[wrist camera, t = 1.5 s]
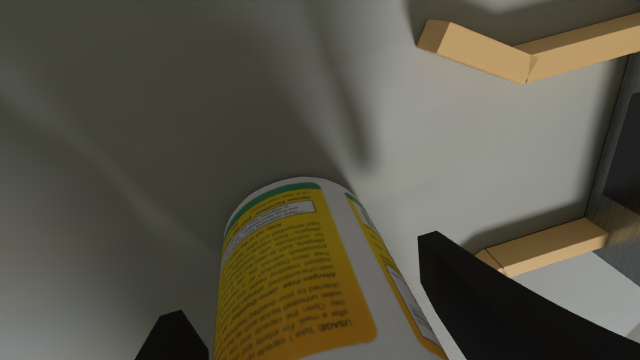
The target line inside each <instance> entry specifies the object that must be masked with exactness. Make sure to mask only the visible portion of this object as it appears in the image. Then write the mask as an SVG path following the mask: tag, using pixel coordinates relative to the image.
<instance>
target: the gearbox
mask: <svg viewBox="0 0 640 360" xmlns="http://www.w3.org/2000/svg"><path fill="white" fill-rule="evenodd" d="M584 218H586V219H587V220H589V221H590V222H592V223H594V224H595V225H597V226H598V227H600V228H601V229H603V230H604V231H606V232H607V233H609V234H608V237H607V240H606V243H605V246H604V247H602V248H599V249H596V250H593V251H592V252H593V253H595V254H596V255H597V256H599V257H600V258H601V259H603V260H604V261H606V262H607V263H608V264H610V265H611V266H612V267H614V268H615V269H616V270H618V271H619V272H620V273H622V274H623V275H625V276H626V277H627V278H629V279H630V280H631V281H633V282H634V283H635V284H637V285H638V286H639V287H640V51H638V52H635V53H631V54H630V56H629V60H628V63H627V67H626V71H625V74H624V78H623V81H622V85H621V88H620V92H619V96H618V99H617V103H616V106H615V110H614V114H613V117H612V121H611V124H610V128H609V131H608V135H607V139H606V142H605V146H604V149H603V153H602V157H601V160H600V164H599V167H598V171H597V174H596V178H595V182H594V185H593V189H592V192H591V196H590V199H589V203H588V207H587V210H586V214H585V217H584Z"/></svg>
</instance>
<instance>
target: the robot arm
mask: <svg viewBox="0 0 640 360" xmlns="http://www.w3.org/2000/svg"><path fill="white" fill-rule="evenodd" d="M418 252H419V267H420V282H421V284H422V286H423V288H424V290H425V292H426V294H427V296H428V298H429V300H430V302H431V304H432V306H433V308H434V310H435V312H436V313H437V315H438V317H439V318H440V320H441V321H442V323H443V324H444V326H445V327H446V329H447V330H448V332H449V333H450V335H451V336H452V338H453V339H454V341H455V343H456V344H457V346H458V347H459V349H460V350H461V352H462V353H463V355H464V356H465V358H466V359H467V360H640V344H639V343H637V342H635V341H633V340H630V339H628V338H626V337H623V336H621V335H619V334H616V333H614V332H612V331H610V330H608V329H605V328H603V327H601V326H599V325H597V324H595V323H593V322H591V321H589V320H586V319H584V318H582V317H580V316H578V315H576V314H574V313H572V312H570V311H568V310H566V309H564V308H562V307H561V306H559V305H557V304H555V303H553V302H551V301H549V300H547V299H546V298H544V297H542V296H540V295H538V294H537V293H535V292H533V291H531V290H529V289H528V288H526V287H524V286H522V285H521V284H519V283H517V282H516V281H514V280H512V279H511V278H509V277H507V276H506V275H504V274H502V273H501V272H499V271H498V270H496V269H494V268H493V267H491V266H489V265H488V264H486V263H485V262H483V261H482V260H480V259H479V258H477V257H476V256H474V255H472V254H471V253H469V252H468V251H466V250H465V249H463V248H462V247H460V246H459V245H457V244H456V243H455V242H453V241H452V240H450V239H449V238H447V237H446V236H444V235H443V234H441V233H440V232H438V231H434V232H430V233H427V234H424V235H421V236H418ZM135 360H209V352H208V349H207V347H206V346H205V344H204V343H203V341H202V340H201V338H200V337H199V335H198V334H197V332H196V331H195V329H194V328H193V326H192V325H191V323H190V322H189V320H188V319H187V317H186V316H185V314H184V313H183V311H182V310H178V311H175V312H172V313H169V314H165V315H162V316H160V317H159V319H158V321H157V322H156V324H155V326H154V327H153V329H152V331H151V332H150V334H149V336H148V337H147V339H146V341H145V343H144V344H143V346H142V348H141V349H140V351H139V353H138V355H137V356H136V358H135Z"/></svg>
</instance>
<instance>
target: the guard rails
mask: <svg viewBox="0 0 640 360" xmlns="http://www.w3.org/2000/svg"><path fill="white" fill-rule="evenodd" d="M417 48H420V49H423V50H426V51H428V52H431V53H434V54H437V55H439V56H442V57H445V58H448V59H450V60H453V61H456V62H459V63H461V64H464V65H467V66H470V67H472V68H475V69H478V70H481V71H483V72H486V73H489V74H492V75H494V76H497V77H500V78H503V79H506V80H509V81H512V82H515V83H518V84H521V85H524V83H525V82H527V83H528V82H531V81H535V80H538V79H542V78H546V77H549V76H553V75H556V74H560V73H563V72H567V71H571V70H574V69H578V68H581V67H585V66H588V65H592V64H595V63H599V62H603V61H606V60H610V59H613V58H617V57H620V56H624V55H628V54H631V53H635V52H638V51H640V12H638V13H634V14H630V15H627V16H623V17H619V18H616V19H612V20H608V21H605V22H601V23H597V24H593V25H590V26H586V27H582V28H579V29H575V30H571V31H568V32H564V33H560V34H557V35H553V36H549V37H546V38H542V39H538V40H534V41H531V42H527V43H523V44H520V45H516V46H512V47H510V46H508V45H505V44H503V43H501V42H498V41H496V40H493V39H491V38H488V37H486V36H483V35H481V34H479V33H476V32H474V31H471V30H469V29H466V28H464V27H462V26H459V25H457V24H454V23H452V22H447V21H440V20H433V19H428V20H427V23H426V25H425V27H424V30H423V32H422V35H421V37H420V39H419V42H418V44H417ZM608 234H609V233H607V232H606V231H604V230H603V229H601V228H600V227H598V226H597V225H595V224H594V223H592V222H590V221H589V220H587V219H586V218H581V219H578V220H575V221H572V222H569V223H566V224H563V225H559V226H556V227H553V228H550V229H547V230H544V231H540V232H537V233H534V234H531V235H528V236H525V237H522V238H518V239H515V240H512V241H509V242H506V243H503V244H499V245H496V246H493V247H490V248H487V249H486V251H485V250H484V249H483V250H481V251H480V252H479V253H477V254H476V255H475V256H476V257H477V258H479V259H480V260H482V261H483V262H485V263H486V264H488V265H489V266H491V267H493V268H494V269H496V270H498V271H499V272H501V273H502V274H504V275H506V276H507V277H509V278H510V277H513V276H516V275H519V274H522V273H525V272H528V271H531V270H535V269H538V268H541V267H544V266H547V265H550V264H553V263H556V262H559V261H562V260H565V259H568V258H571V257H574V256H578V255H581V254H584V253H587V252H590V251H593V250H596V249H599V248H602V247H604V246H605V243H606V240H607V237H608Z"/></svg>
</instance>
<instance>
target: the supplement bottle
mask: <svg viewBox="0 0 640 360" xmlns="http://www.w3.org/2000/svg"><path fill="white" fill-rule="evenodd" d="M213 360H449V359H448V357H447V355H446V353H445V352H444V350H443V348H442V346H441V344H440V343H439V341H438V339H437V337H436V335H435V334H434V332H433V330H432V328H431V326H430V325H429V323H428V321H427V319H426V317H425V316H424V314H423V312H422V310H421V308H420V307H419V305H418V303H417V301H416V299H415V298H414V296H413V294H412V292H411V291H410V289H409V287H408V285H407V283H406V282H405V280H404V278H403V276H402V275H401V273H400V271H399V269H398V267H397V266H396V264H395V262H394V260H393V258H392V257H391V255H390V253H389V251H388V249H387V247H386V246H385V244H384V242H383V240H382V238H381V236H380V234H379V233H378V231H377V229H376V228H375V226H374V224H373V223H372V221H371V219H370V217H369V216H368V214H367V212H366V211H365V209H364V207H363V206H362V204H361V203H360V201H359V200H358V199H357V198H356V197H355V196H354V195H353V194H352V193H351V192H350V191H349V190H347V189H346V188H344V187H343V186H341V185H339V184H337V183H335V182H332V181H329V180H326V179H323V178H316V177H296V178H289V179H285V180H281V181H278V182H275V183H272V184H269V185H267V186H264V187H262V188H261V189H259V190H257V191H255V192H254V193H252V194H251V195H249V196H248V197H247V198H246V199H245V200H244V201H243V202H242V203H241V204H240V205H239V206H238V207H237V208H236V210H235V211H234V212H233V214H232V215H231V217H230V219H229V221H228V223H227V226H226V229H225V232H224V238H223V246H222V258H221V267H220V277H219V290H218V301H217V313H216V326H215V338H214V350H213Z"/></svg>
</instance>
